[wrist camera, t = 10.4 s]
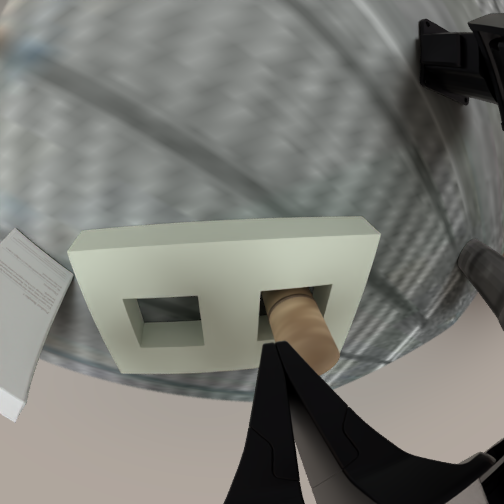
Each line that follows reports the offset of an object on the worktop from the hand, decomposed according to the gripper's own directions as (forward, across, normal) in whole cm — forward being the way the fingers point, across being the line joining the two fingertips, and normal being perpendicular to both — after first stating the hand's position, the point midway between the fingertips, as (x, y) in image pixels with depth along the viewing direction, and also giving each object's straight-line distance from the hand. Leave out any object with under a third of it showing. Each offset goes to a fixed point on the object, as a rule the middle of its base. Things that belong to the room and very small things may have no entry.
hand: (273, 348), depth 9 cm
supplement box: (+12, +19, +4) cm, 23 cm away
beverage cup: (+12, -29, +7) cm, 32 cm away
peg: (+12, -4, +8) cm, 15 cm away
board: (+12, +1, +8) cm, 14 cm away
